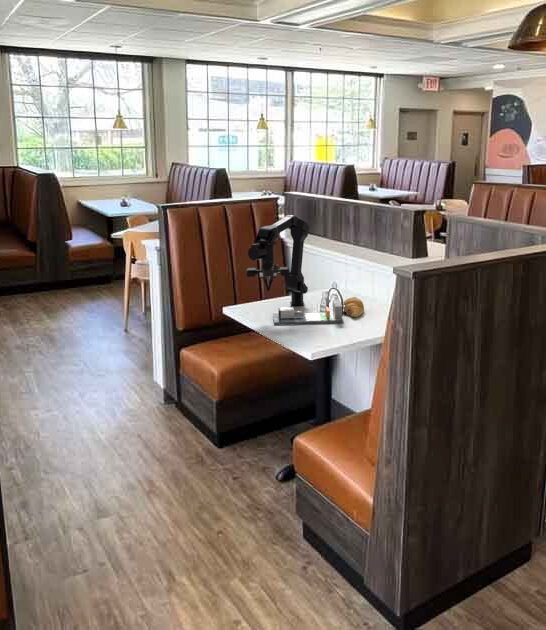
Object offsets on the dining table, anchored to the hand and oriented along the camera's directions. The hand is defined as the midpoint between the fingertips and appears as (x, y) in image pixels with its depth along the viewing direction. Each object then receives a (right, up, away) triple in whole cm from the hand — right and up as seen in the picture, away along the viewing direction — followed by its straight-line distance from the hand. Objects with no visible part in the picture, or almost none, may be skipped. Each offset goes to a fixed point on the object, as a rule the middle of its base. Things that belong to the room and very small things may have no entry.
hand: (268, 290), depth 279 cm
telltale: (+26, -11, -2) cm, 28 cm away
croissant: (+38, -10, +8) cm, 40 cm away
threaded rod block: (+10, -11, -2) cm, 15 cm away
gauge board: (+17, -13, -2) cm, 22 cm away
